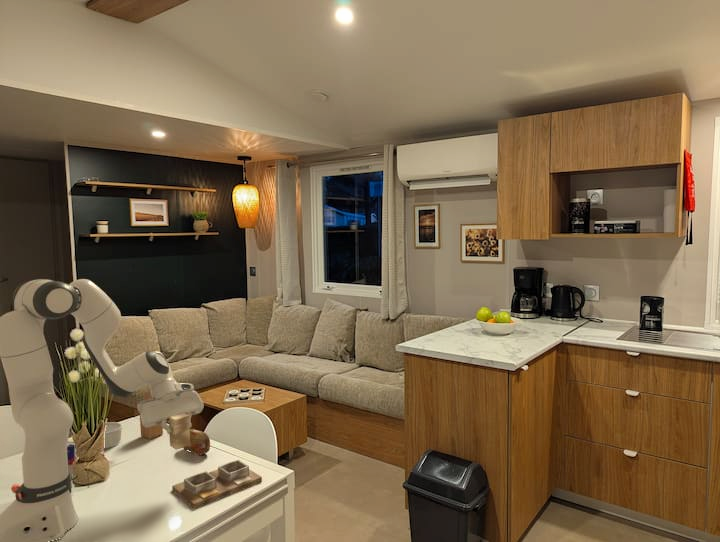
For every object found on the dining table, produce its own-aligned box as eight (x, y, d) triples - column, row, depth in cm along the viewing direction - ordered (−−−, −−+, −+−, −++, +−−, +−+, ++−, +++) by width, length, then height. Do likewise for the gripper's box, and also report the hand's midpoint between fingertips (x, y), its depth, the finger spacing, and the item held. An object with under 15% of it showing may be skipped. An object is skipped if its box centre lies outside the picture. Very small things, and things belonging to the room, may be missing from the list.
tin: (180, 449, 198) (179, 428, 198) (187, 446, 201) (186, 425, 200) (205, 458, 190) (204, 436, 189) (212, 454, 192) (211, 433, 192)
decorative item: (154, 431, 217) (152, 385, 216) (163, 434, 213) (161, 388, 212) (140, 436, 212) (137, 389, 210) (149, 439, 208) (146, 392, 207)
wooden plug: (176, 449, 164) (174, 419, 163) (170, 445, 167) (168, 416, 167) (190, 445, 167) (188, 415, 166) (184, 441, 171) (182, 412, 170)
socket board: (193, 508, 154) (193, 494, 154) (172, 490, 166) (171, 477, 166) (261, 481, 170) (261, 468, 170) (237, 466, 182) (237, 454, 182)
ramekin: (116, 435, 214) (115, 419, 214) (127, 444, 205) (126, 427, 204) (82, 445, 205) (80, 428, 204) (92, 454, 195) (91, 437, 195)
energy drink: (70, 482, 173) (67, 448, 172) (56, 480, 174) (54, 447, 174) (81, 474, 179) (79, 441, 178) (68, 473, 180) (66, 440, 179)
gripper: (137, 396, 164) (150, 434, 158) (196, 383, 178) (211, 416, 172) (133, 407, 167) (145, 444, 161) (191, 392, 181) (205, 426, 175)
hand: (180, 430), depth 166 cm, fingers closed on wooden plug, 5 cm apart
